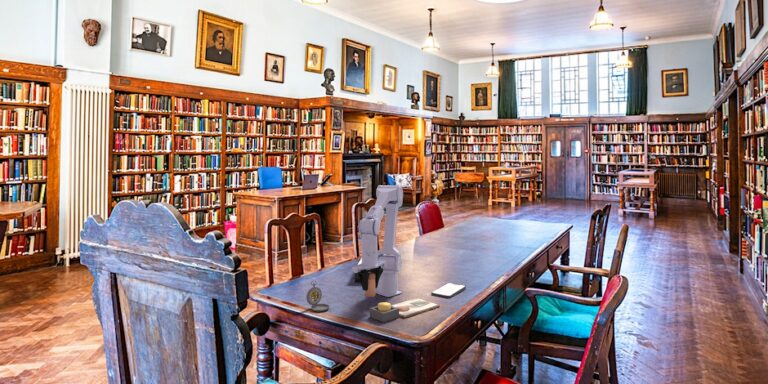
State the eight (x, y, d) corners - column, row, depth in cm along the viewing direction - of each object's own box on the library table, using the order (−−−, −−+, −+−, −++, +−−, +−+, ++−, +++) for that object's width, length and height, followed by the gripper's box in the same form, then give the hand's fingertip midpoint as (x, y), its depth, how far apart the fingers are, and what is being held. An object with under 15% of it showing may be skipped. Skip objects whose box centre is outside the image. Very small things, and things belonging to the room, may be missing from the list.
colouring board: (381, 309, 162) (381, 307, 162) (416, 299, 174) (416, 297, 174) (404, 318, 153) (404, 316, 153) (439, 306, 165) (439, 304, 165)
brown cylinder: (362, 295, 163) (362, 273, 162) (370, 293, 165) (370, 271, 165) (369, 297, 160) (369, 275, 159) (377, 295, 162) (377, 273, 162)
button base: (369, 316, 156) (369, 308, 155) (385, 311, 160) (385, 303, 160) (383, 322, 150) (383, 313, 150) (399, 317, 155) (399, 308, 155)
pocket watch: (326, 312, 160) (325, 285, 159) (303, 311, 161) (303, 284, 161) (332, 305, 168) (332, 279, 167) (311, 304, 169) (310, 278, 169)
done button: (375, 312, 155) (375, 304, 155) (384, 309, 158) (384, 301, 158) (383, 315, 152) (383, 307, 152) (393, 312, 155) (393, 304, 155)
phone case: (449, 300, 175) (467, 289, 188) (449, 296, 175) (466, 285, 188) (429, 296, 180) (447, 286, 193) (429, 292, 180) (447, 282, 193)
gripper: (360, 256, 153) (361, 295, 154) (391, 250, 163) (392, 287, 164) (348, 253, 159) (348, 291, 160) (379, 247, 168) (379, 283, 169)
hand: (369, 288), depth 162 cm, fingers closed on brown cylinder, 4 cm apart
